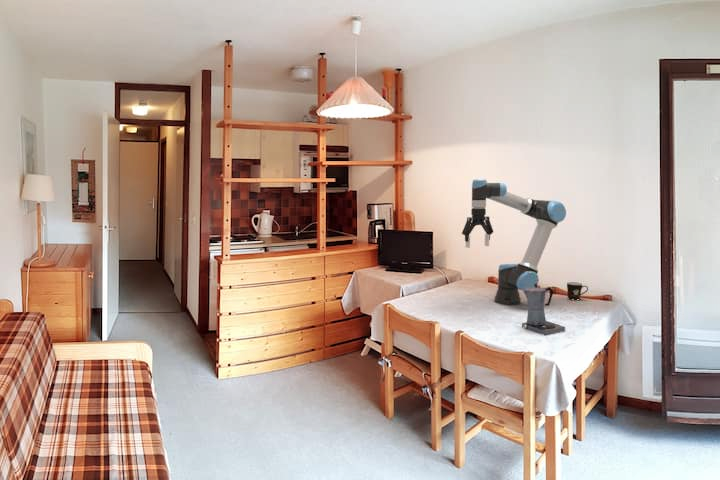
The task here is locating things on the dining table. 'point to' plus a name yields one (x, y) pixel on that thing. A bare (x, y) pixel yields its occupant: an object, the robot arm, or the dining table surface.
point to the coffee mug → (574, 290)
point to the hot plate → (544, 328)
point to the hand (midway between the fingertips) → (477, 246)
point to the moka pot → (537, 304)
